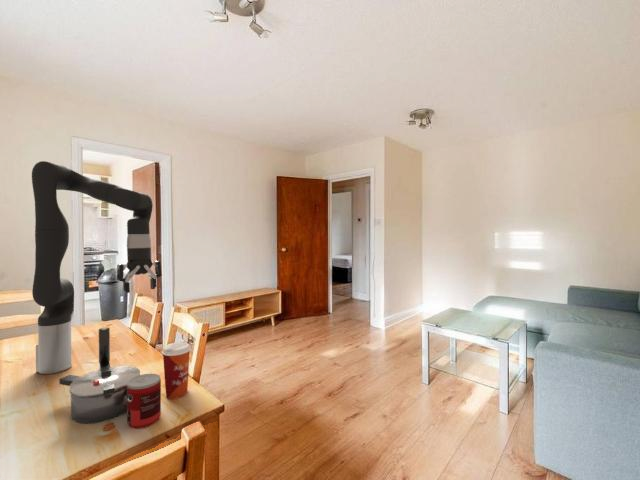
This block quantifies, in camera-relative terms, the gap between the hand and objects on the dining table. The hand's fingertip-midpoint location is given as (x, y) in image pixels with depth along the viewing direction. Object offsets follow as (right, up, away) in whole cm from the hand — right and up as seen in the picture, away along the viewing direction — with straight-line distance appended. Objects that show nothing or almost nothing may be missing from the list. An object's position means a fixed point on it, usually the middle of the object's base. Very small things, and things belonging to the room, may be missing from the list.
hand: (140, 290), depth 113 cm
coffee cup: (+21, -30, -17) cm, 40 cm away
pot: (+2, -29, -24) cm, 38 cm away
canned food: (+19, -30, -30) cm, 47 cm away
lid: (+4, -22, -24) cm, 33 cm away
